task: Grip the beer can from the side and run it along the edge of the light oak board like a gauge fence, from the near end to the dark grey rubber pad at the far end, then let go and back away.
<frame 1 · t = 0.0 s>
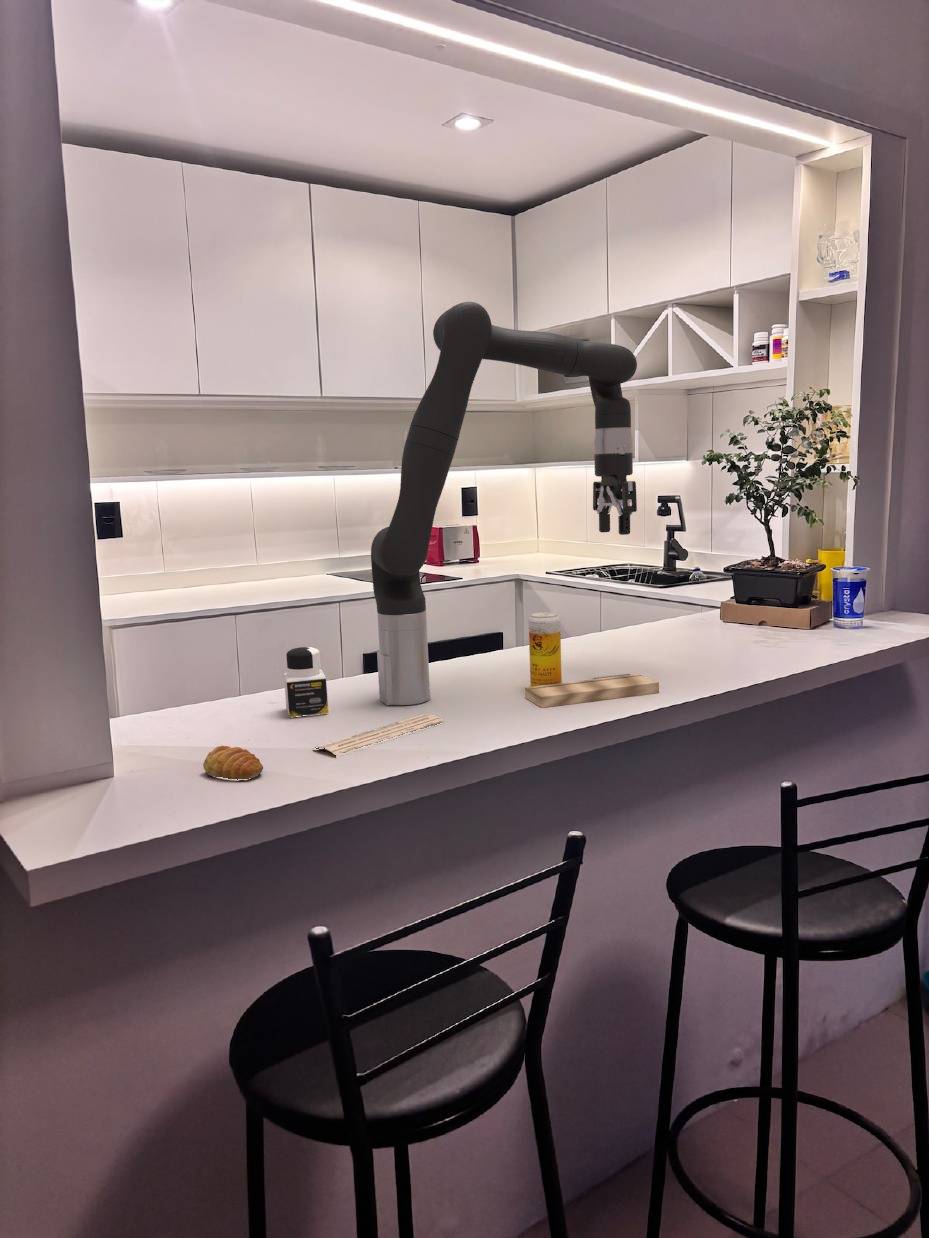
hand: (614, 533, 179), 29 cm above the counter, tool pointing down, fingers open, 8 cm apart
pastry: (235, 775, 132), on the counter
beer can: (546, 690, 174), on the counter
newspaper: (379, 741, 148), on the counter
medicine bottle: (307, 712, 165), on the counter
board: (592, 695, 168), on the counter
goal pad: (619, 680, 178), on the counter
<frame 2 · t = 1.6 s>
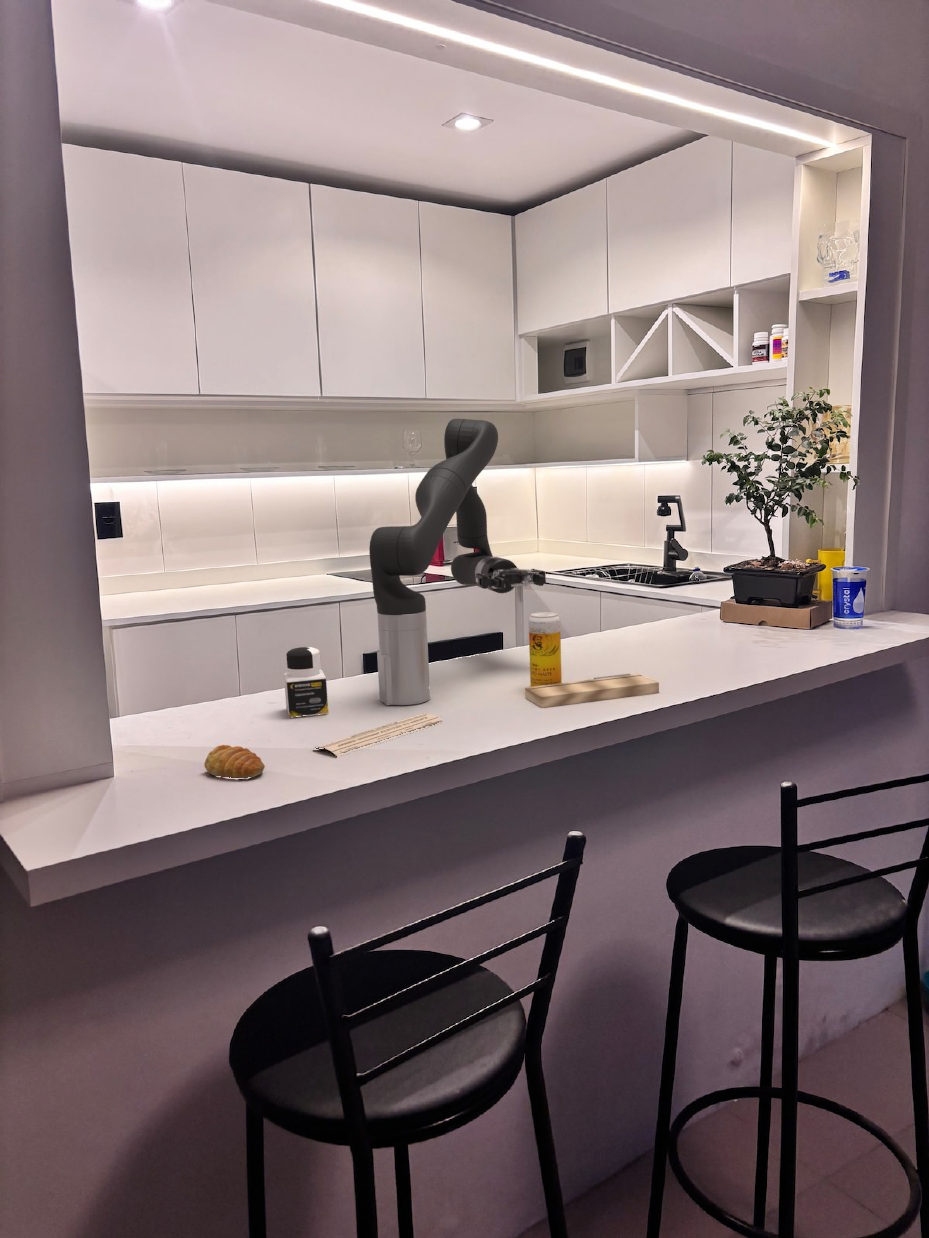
hand: (522, 582, 181), 20 cm above the counter, tool horizontal, fingers open, 8 cm apart
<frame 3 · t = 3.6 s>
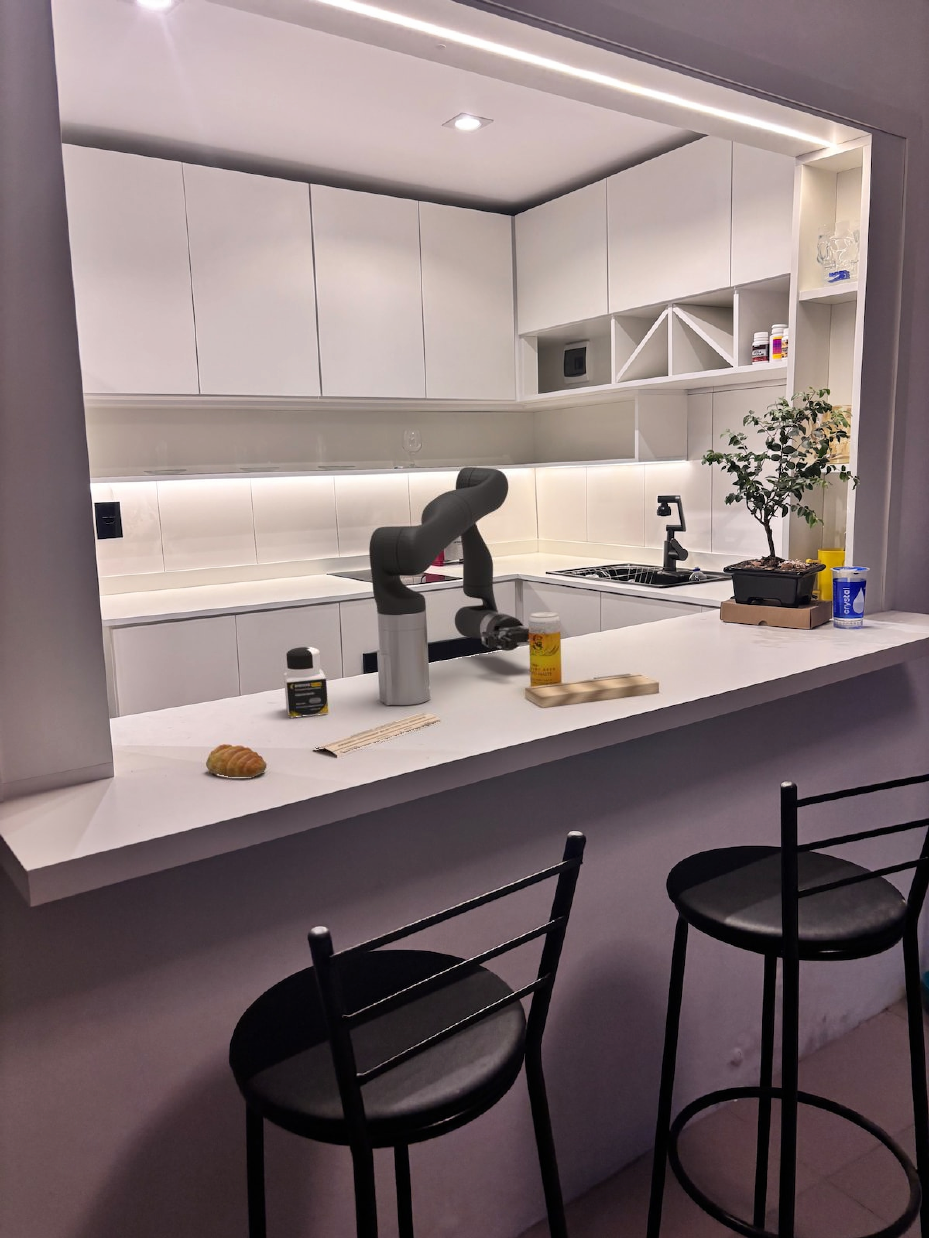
hand: (529, 642, 180), 8 cm above the counter, tool horizontal, fingers open, 8 cm apart
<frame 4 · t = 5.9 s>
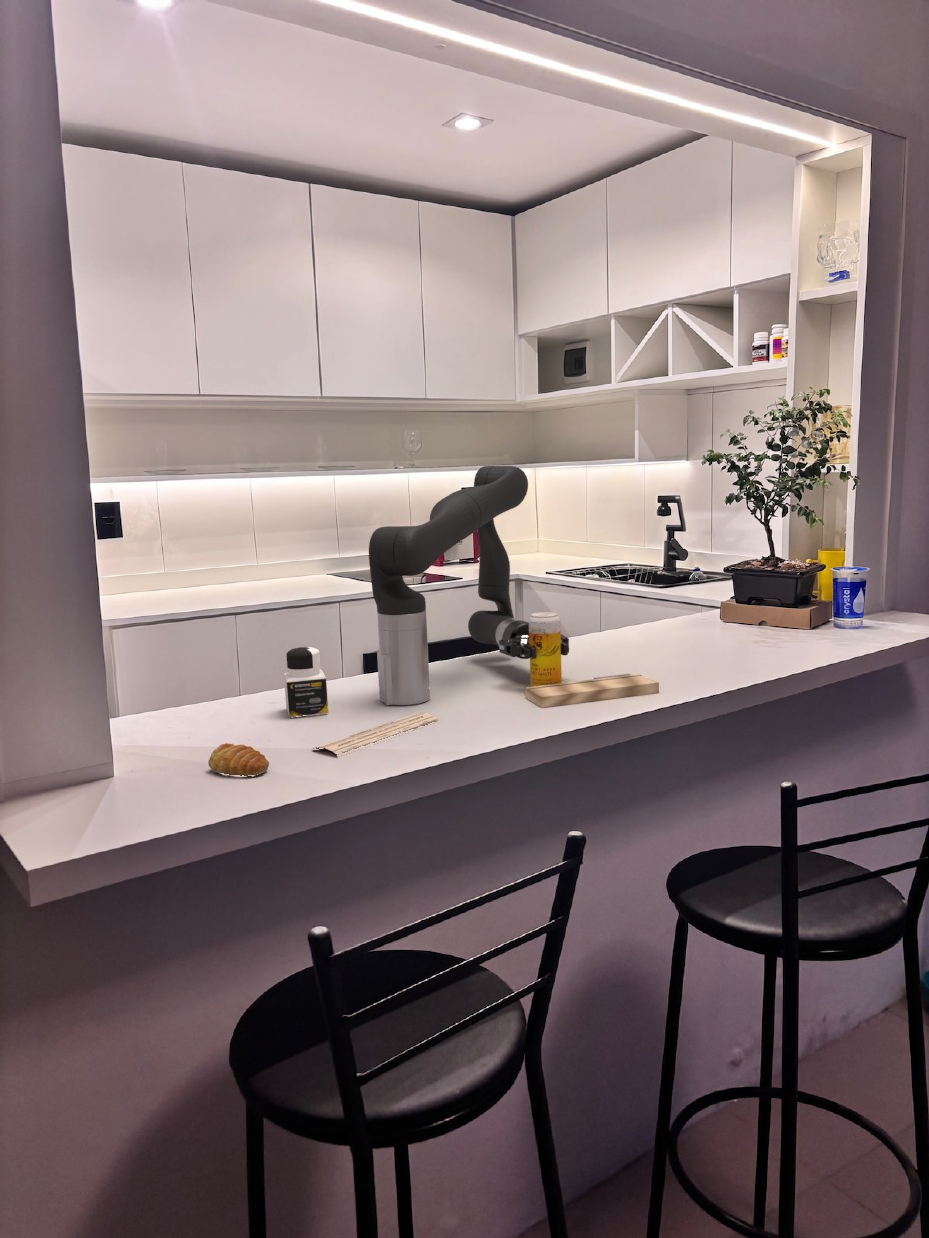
hand: (550, 651, 170), 8 cm above the counter, tool horizontal, fingers closed on beer can, 6 cm apart
beer can: (546, 690, 174), on the counter, touching gripper
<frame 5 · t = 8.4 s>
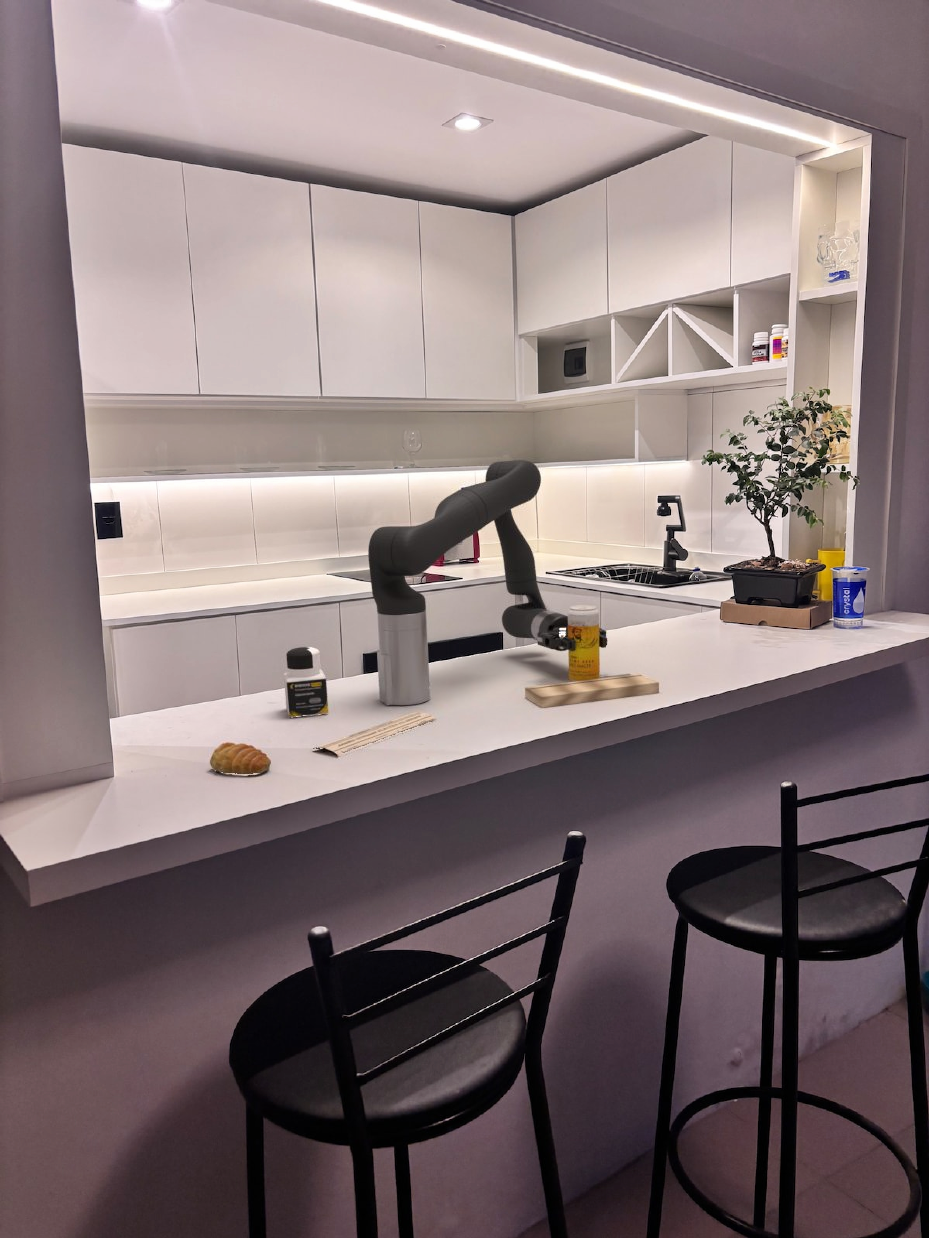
hand: (589, 644, 173), 9 cm above the counter, tool horizontal, fingers closed on beer can, 6 cm apart
beer can: (584, 682, 176), on the counter, touching gripper
when the fingers open (8 cm above the counter, at t = 10.8 s): beer can stays where it is, resting on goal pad.
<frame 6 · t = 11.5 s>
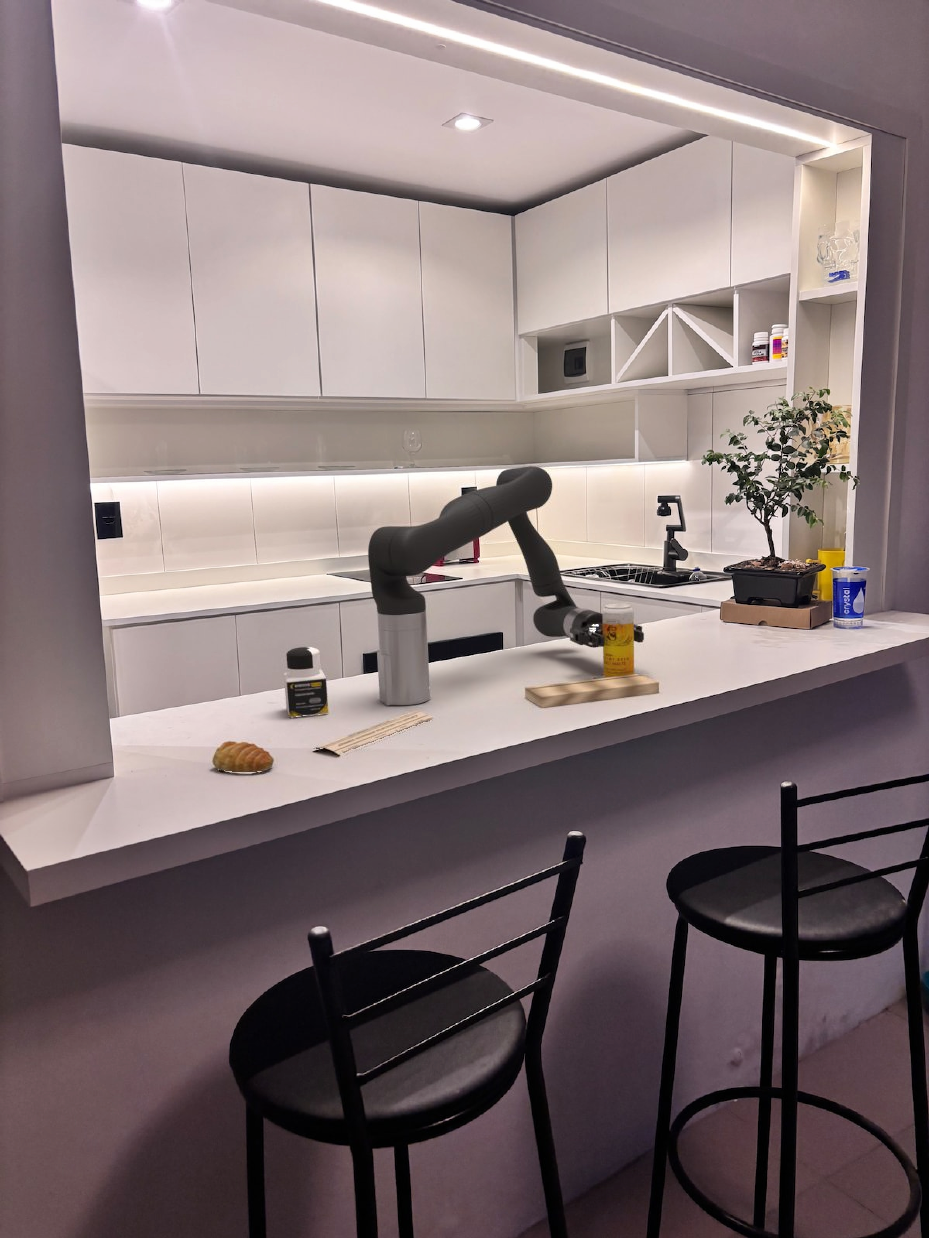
hand: (622, 639, 175), 9 cm above the counter, tool horizontal, fingers open, 8 cm apart
beer can: (618, 680, 178), resting on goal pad
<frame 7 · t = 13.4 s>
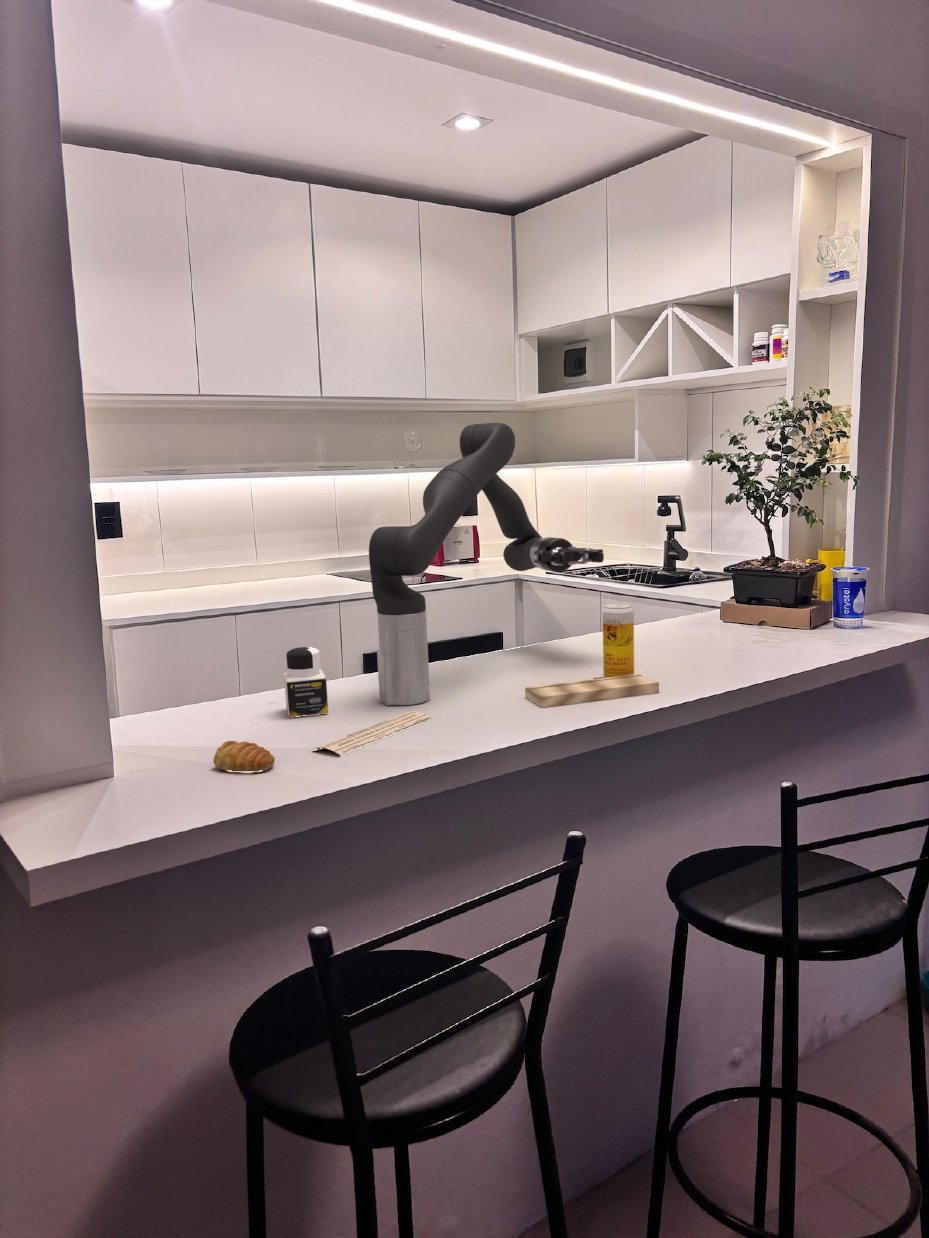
hand: (582, 558, 184), 24 cm above the counter, tool horizontal, fingers open, 8 cm apart
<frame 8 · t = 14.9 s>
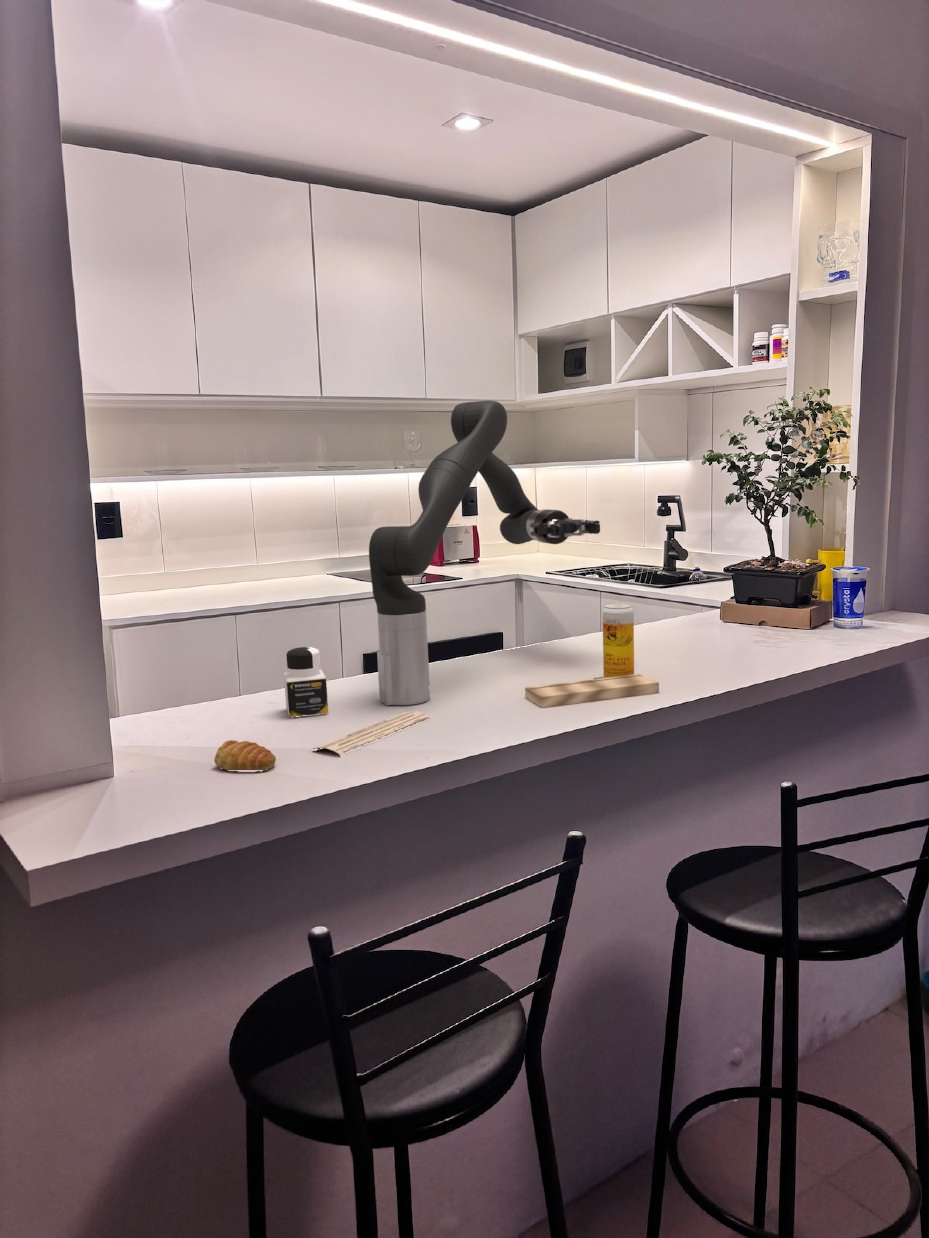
hand: (579, 529, 183), 30 cm above the counter, tool horizontal, fingers open, 8 cm apart
at the end: beer can inside the target area (0.1 cm from its centre), resting on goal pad; beer can tilted 0°; the gripper is holding nothing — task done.
